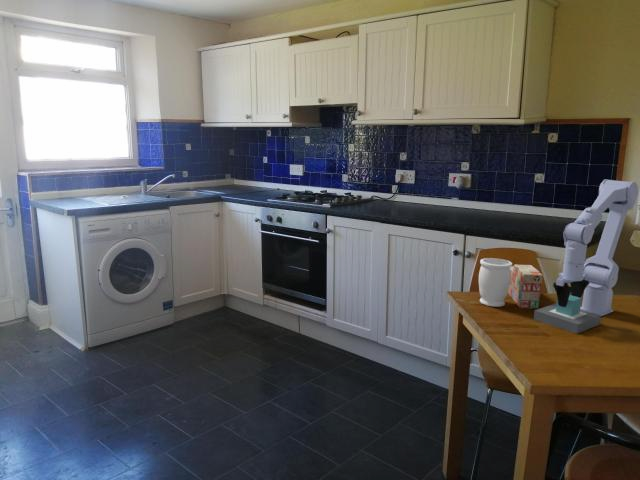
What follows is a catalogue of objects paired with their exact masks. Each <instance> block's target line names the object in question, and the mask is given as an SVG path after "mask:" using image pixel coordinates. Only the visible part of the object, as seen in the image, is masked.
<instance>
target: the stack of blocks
mask: <svg viewBox="0 0 640 480" xmlns="http://www.w3.org/2000/svg"><path fill="white" fill-rule="evenodd" d="M510 271H511V281H510V286H509V289H508V293H507V295H509V297H511V299H513V301H514V302H515V304H516V303H517V304H516V305H517V306H518V307H519V308H520V309H533V308H538V309H539V305H540V297H541V292H542V282H543V276H544V275H543V274H542V272H540V271H539V270H538V269H537V268H535V267H534V266H533V265H531V264H514V265H512V266H511V267H510Z"/></svg>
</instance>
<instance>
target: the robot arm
mask: <svg viewBox="0 0 640 480" xmlns="http://www.w3.org/2000/svg"><path fill="white" fill-rule="evenodd" d="M638 195H639V185H638V184H637V182H636V181H625V180H614V179H607V178H606V179H603V180H602V182H601V183H600V184H599V188H598V195H597V198H596V199H595V200H594V202H593V204H592V205H591V206H590V207H585V209H584V210H583V211H582V212H581V213H580V214H579V216H578V217H577V218H576V220H574V222H571V223H568V224H567V225H565V228H564V230H563V232H562V233H563V236H562V237H563V241H564V243H563V244H564V247H565V248H564V249H565V250H564V251H565V252H564V259H563V266H562V272H559V273H558V276H559V277H558V278H556V281H555V282H553V283H552V284H553V285H552V287H553V288H554V290H555V294H556V297H557V298H558V305H559V306H562V307H566V306H567V303H568V299H569V296H570V295H572V296H576V297H579V298H582V301H581V306H580V309H582V310H586V311H589V312H592V313H596V314H599V315H601V317H603V316H605V315H608V314H610V313H612V312H614V309H612V304H613V303H612V302H613V296H614V291H613V289H612V288H613V287H614V286H616V284H617V282H618V278H619V270H620V268H619V265H618V264H617V263H616V262H615V261H614V260H613V258H614V255H615V251H616V248H617V246H618V242H619V239H620V236H621V232H622V229H623V227H624V224H625V220H626V218H627V217H626V216H628V211H630V210H633V209H634V208H635V205H636V201H637V198H638ZM607 209H609V212H608V215H607V219H606V222H605V224H604V227H603V230H602V234H601V236H600V237H601V238H600V240H599V244H598V246H597V249H596V252H595V255H593V256H591V257H588V258H586V256H587V249H588V244H589V243H591V241H592V238H593V235H594V234H595V229H596V227H597V226H599V224H600V223H601V221H602V220H603V213H605V211H606V210H607ZM569 284H570V285H569ZM557 298H556V299H557Z"/></svg>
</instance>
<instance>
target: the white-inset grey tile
mask: <svg viewBox="0 0 640 480" xmlns="http://www.w3.org/2000/svg"><path fill="white" fill-rule="evenodd" d="M556 305H557V302H555V303H553V304H549V305H547V306H544V307H542V308H541V307H540V308H538V309H534V311H533V320H535V321H538V322H540V323H544V324H547V325H550V326H552V327H555V328H558V329H561V330H564V331H567V332H571V333H573V334H576V335H578V334H580V333H583V332H584V331H587V330H590V329H591V328H594V327H597V326H599V325H601V320H602V316H601V315H599V314H596V313H592V312H589V311H586V310H582V309H580V313H579V314H576V315H574V316H568V315H565V314H562V313H559V312H556Z"/></svg>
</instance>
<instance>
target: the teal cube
mask: <svg viewBox="0 0 640 480" xmlns="http://www.w3.org/2000/svg"><path fill="white" fill-rule="evenodd" d="M582 300H583V297H581V298H579V297H576V296H572V295H571V294H570V296H569V299H568V303H567V306H566V307H562V306H559V305H558V298H556V303H557V305H556V312H559V313H562V314H565V315H568V316H574V315H576V314H579V313H580V307H582Z"/></svg>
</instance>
